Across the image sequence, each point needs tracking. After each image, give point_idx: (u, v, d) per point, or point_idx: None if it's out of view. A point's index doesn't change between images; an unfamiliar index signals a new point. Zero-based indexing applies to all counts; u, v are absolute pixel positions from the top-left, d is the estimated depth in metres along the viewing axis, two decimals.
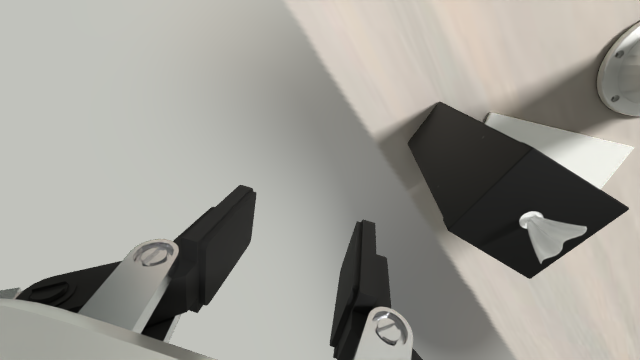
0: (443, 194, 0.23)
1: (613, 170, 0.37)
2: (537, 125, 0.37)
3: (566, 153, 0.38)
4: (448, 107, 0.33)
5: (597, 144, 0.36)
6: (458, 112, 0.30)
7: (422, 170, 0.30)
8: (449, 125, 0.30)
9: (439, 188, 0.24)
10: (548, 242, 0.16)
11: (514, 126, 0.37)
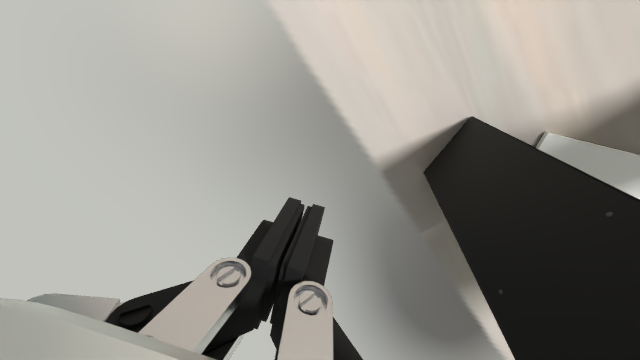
0: (517, 321, 0.12)
1: None
2: (615, 152, 0.25)
3: None
4: (491, 128, 0.22)
5: None
6: (516, 141, 0.18)
7: (456, 234, 0.19)
8: (501, 161, 0.18)
9: (504, 297, 0.13)
10: None
11: (581, 153, 0.26)
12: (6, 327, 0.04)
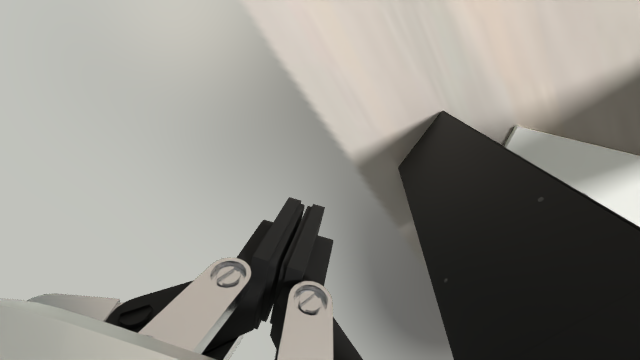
0: (456, 308, 0.12)
1: None
2: (584, 145, 0.25)
3: (624, 185, 0.26)
4: (457, 121, 0.22)
5: None
6: (475, 132, 0.18)
7: (417, 226, 0.19)
8: (461, 153, 0.18)
9: (448, 286, 0.13)
10: None
11: (550, 146, 0.26)
12: (6, 327, 0.04)
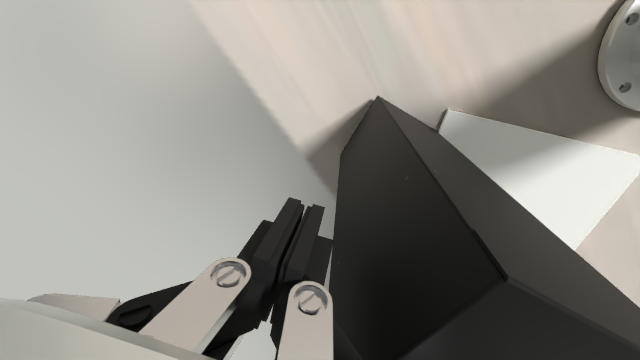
0: (338, 289, 0.12)
1: (621, 190, 0.26)
2: (512, 128, 0.26)
3: (554, 167, 0.27)
4: (382, 105, 0.22)
5: (599, 154, 0.25)
6: (389, 116, 0.18)
7: (336, 211, 0.19)
8: (376, 137, 0.19)
9: (338, 268, 0.13)
10: None
11: (481, 129, 0.26)
12: (6, 327, 0.04)
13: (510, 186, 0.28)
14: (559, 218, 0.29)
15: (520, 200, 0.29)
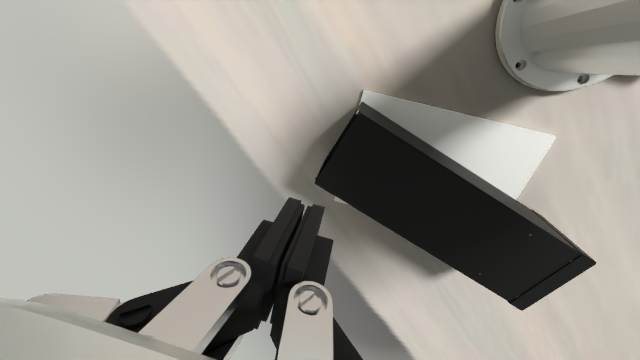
0: (492, 281, 0.25)
1: (533, 169, 0.27)
2: (424, 107, 0.27)
3: (468, 146, 0.27)
4: (412, 148, 0.21)
5: (507, 133, 0.26)
6: (454, 174, 0.21)
7: (425, 248, 0.25)
8: (444, 192, 0.22)
9: (483, 275, 0.25)
10: None
11: (396, 109, 0.27)
12: (6, 327, 0.04)
13: None
14: None
15: None
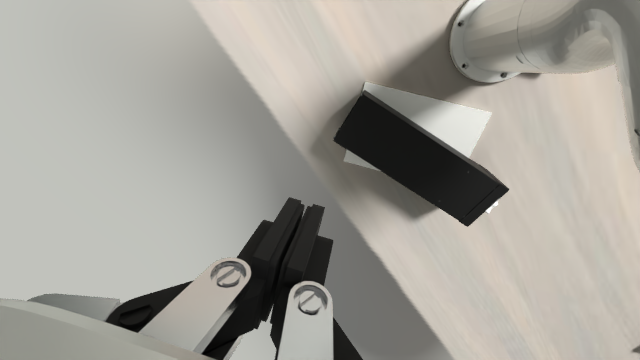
0: (447, 206, 0.38)
1: (478, 135, 0.40)
2: (406, 93, 0.40)
3: (435, 120, 0.41)
4: (395, 116, 0.34)
5: (460, 110, 0.40)
6: (420, 133, 0.35)
7: (404, 184, 0.38)
8: (415, 144, 0.35)
9: (441, 202, 0.38)
10: None
11: (387, 94, 0.40)
12: (6, 327, 0.04)
13: None
14: None
15: None
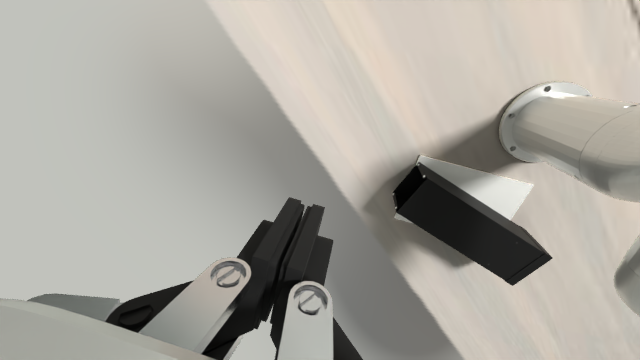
0: (495, 268, 0.43)
1: (520, 202, 0.46)
2: (456, 166, 0.45)
3: (482, 188, 0.46)
4: (454, 196, 0.40)
5: (505, 182, 0.45)
6: (476, 210, 0.40)
7: (458, 249, 0.43)
8: (470, 219, 0.41)
9: (490, 265, 0.43)
10: None
11: (439, 166, 0.46)
12: (6, 327, 0.04)
13: None
14: None
15: None
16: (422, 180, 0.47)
